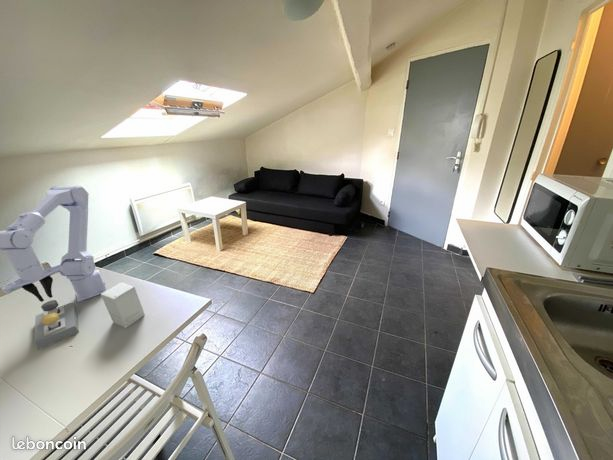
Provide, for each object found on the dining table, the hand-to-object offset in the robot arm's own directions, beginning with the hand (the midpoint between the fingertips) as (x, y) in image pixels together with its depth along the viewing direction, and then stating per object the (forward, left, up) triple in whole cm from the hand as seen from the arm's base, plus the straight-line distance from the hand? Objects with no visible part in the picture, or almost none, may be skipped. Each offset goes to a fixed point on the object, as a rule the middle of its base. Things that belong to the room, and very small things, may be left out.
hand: (45, 298), depth 89 cm
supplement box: (-19, +17, -10) cm, 27 cm away
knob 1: (0, 0, -7) cm, 7 cm away
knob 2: (0, +8, -7) cm, 11 cm away
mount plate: (0, +4, -10) cm, 11 cm away
